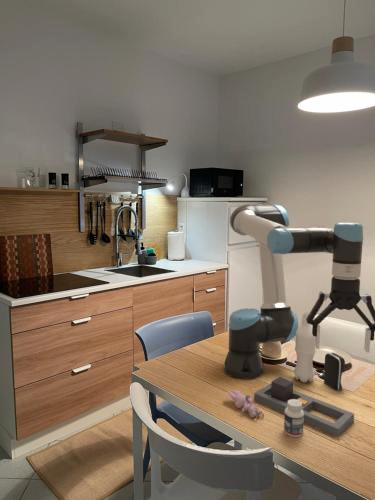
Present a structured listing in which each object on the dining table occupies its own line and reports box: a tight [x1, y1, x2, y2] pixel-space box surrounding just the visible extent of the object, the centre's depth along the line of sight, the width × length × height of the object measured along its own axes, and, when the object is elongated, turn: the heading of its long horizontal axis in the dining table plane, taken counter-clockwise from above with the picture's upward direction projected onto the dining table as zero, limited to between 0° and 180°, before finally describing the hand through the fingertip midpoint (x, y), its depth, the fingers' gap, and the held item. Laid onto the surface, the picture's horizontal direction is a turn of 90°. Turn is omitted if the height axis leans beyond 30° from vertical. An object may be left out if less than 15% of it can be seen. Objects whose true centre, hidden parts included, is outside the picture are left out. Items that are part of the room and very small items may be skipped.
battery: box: [323, 352, 346, 391], centre depth 135 cm, size 7×4×11 cm, turn 20°
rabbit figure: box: [226, 389, 265, 422], centre depth 120 cm, size 6×6×15 cm
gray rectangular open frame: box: [253, 376, 355, 438], centre depth 119 cm, size 28×11×7 cm, turn 45°
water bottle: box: [293, 311, 317, 383], centre depth 139 cm, size 7×7×25 cm
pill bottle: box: [283, 399, 304, 438], centre depth 107 cm, size 5×5×9 cm
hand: (341, 348), depth 111 cm, fingers open, 13 cm apart
